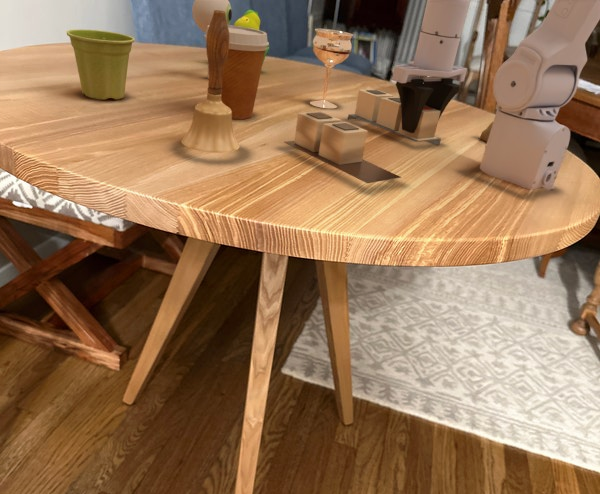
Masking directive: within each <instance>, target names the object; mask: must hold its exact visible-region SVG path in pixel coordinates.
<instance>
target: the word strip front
mask: <svg viewBox="0 0 600 494" xmlns="http://www.w3.org/2000/svg"><path fill="white" fill-rule="evenodd" d="M368 132H369V131H368V130H366V129H365V128H362V127H359V126H357V125H354V124H352V123H350V122H347V121H341V119H340V118H337V117H335V116H333V115H330V114H328V113H325V112H323V111H307V112H306V111H305V112H297V120H296V126H295V135H294V140H288V141H284V143H285V144H287V145H289V146H291V147H293V148H294V149H297V150H299V151H301V152H303V153H305V154H307V155H309V156H311V157H313V158H314V159H317V160H319V161H321V162H323V163H325V164H327V165H329V166H331V167H334V168H336V169H337V170H339V171H341V172H343V173H346V174H347V175H349V176H352V177H354V178H356V179H358V180H360V181H361V182H364V183H366V184H373V183H379V182H383V181H389V180H395V179H401V178H402V177H401V176H400V175H398V174H396V173H393V172H391V171H389V170H387V169H385V168H383V167H381V166H378V165H376V164H374V163H372V162H370V161H367V160H365V159H363V158H364V152H365V148H366V142H367V137H368Z"/></svg>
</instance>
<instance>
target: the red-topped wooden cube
mask: <svg viewBox="0 0 600 494" xmlns="http://www.w3.org/2000/svg"><path fill="white" fill-rule="evenodd" d="M440 112H441V111H439V110H436V109H433V108H430V107H428V106H425V105H424V108H423V110H422V113H421V116H420V119H419V123H418V125H417V128H416V130H415V132H414V133H410V132H407V131H404V130H402V117H401V122H400V126H399V131H398V132H401V133H403V134H406V135H409V136H411V137H414V138H416V139H422V138H431V137H434V136H436V131H437V128H438V123H439V120H440V118H439V116H440Z"/></svg>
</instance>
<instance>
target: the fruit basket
mask: <svg viewBox="0 0 600 494" xmlns="http://www.w3.org/2000/svg"><path fill="white" fill-rule="evenodd" d="M260 25H261V19H260V17H259V13H258V12H257V11H254V10H252V9H248V10H247V11H245V13H244V14H243V16H241V17H239V18H238V19H236V21H235V22H234V24H233V26H240V27H246V28H252V29H256V30H260ZM269 49H270V46H267V50H265V55H264V60H263V64H264V62H265V59H266V57H267V53H268V52H269ZM263 64H262V66H263Z"/></svg>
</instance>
